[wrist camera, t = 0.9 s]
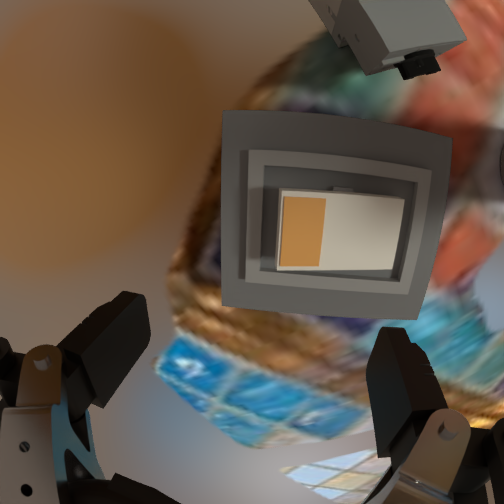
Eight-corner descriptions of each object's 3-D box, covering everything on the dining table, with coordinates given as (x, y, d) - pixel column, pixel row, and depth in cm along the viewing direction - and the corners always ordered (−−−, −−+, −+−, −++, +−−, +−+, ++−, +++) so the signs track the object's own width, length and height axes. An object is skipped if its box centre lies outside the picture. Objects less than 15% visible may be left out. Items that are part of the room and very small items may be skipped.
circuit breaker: (364, 98, 24) (423, 61, 10) (302, -8, 20) (300, -94, 7) (422, 82, 22) (504, 50, 8) (361, -21, 18) (389, -98, 4)
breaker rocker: (397, 196, 21) (405, 200, 20) (385, 263, 23) (392, 270, 22) (279, 187, 21) (282, 191, 19) (274, 264, 23) (277, 271, 22)
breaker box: (426, 138, 24) (457, 138, 18) (400, 292, 31) (419, 324, 25) (237, 117, 27) (220, 109, 21) (234, 279, 33) (219, 310, 27)
